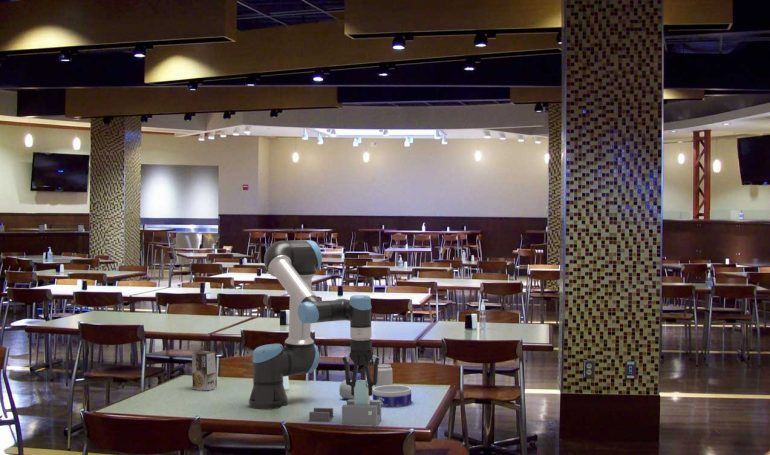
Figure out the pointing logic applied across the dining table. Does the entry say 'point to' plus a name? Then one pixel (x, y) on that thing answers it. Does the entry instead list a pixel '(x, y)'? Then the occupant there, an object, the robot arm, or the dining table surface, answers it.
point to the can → (384, 375)
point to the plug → (361, 392)
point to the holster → (321, 415)
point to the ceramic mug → (346, 390)
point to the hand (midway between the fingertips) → (362, 404)
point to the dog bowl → (392, 395)
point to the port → (362, 413)
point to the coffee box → (204, 370)
